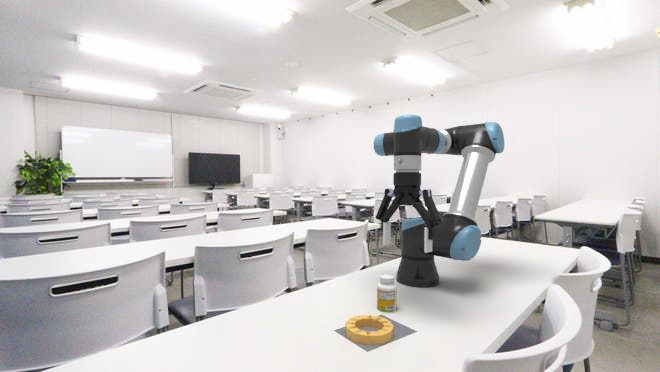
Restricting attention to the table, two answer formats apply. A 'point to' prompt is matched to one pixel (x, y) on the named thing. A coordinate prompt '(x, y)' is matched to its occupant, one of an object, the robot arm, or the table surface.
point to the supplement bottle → (386, 294)
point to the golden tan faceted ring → (371, 336)
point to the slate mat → (399, 329)
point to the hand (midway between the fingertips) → (406, 248)
